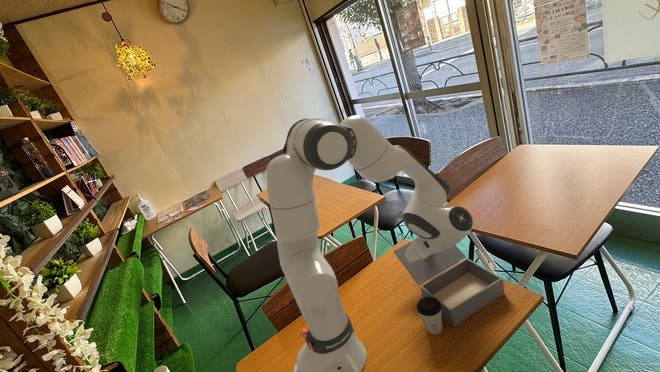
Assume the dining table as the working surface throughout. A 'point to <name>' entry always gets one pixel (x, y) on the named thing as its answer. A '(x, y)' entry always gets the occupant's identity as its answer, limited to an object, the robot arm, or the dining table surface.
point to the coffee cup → (430, 314)
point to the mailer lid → (429, 263)
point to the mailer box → (463, 290)
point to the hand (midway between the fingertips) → (426, 249)
